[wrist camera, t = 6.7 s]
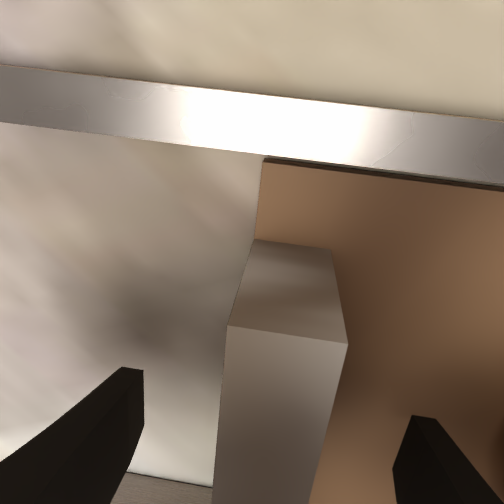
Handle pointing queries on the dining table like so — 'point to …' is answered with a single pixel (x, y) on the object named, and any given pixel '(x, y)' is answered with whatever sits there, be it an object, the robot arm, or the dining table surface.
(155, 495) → the rails
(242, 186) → the dining table surface
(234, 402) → the brown square board
